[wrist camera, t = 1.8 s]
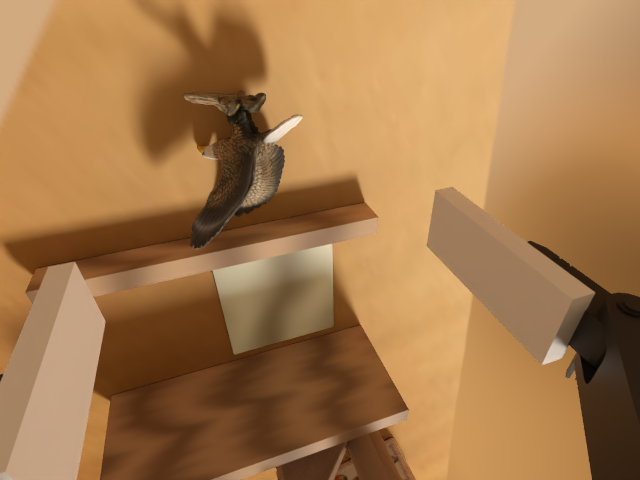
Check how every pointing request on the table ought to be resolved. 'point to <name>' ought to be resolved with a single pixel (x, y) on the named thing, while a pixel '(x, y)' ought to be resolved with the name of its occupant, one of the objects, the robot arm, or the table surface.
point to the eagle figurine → (239, 163)
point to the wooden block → (321, 467)
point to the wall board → (254, 371)
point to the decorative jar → (348, 476)
